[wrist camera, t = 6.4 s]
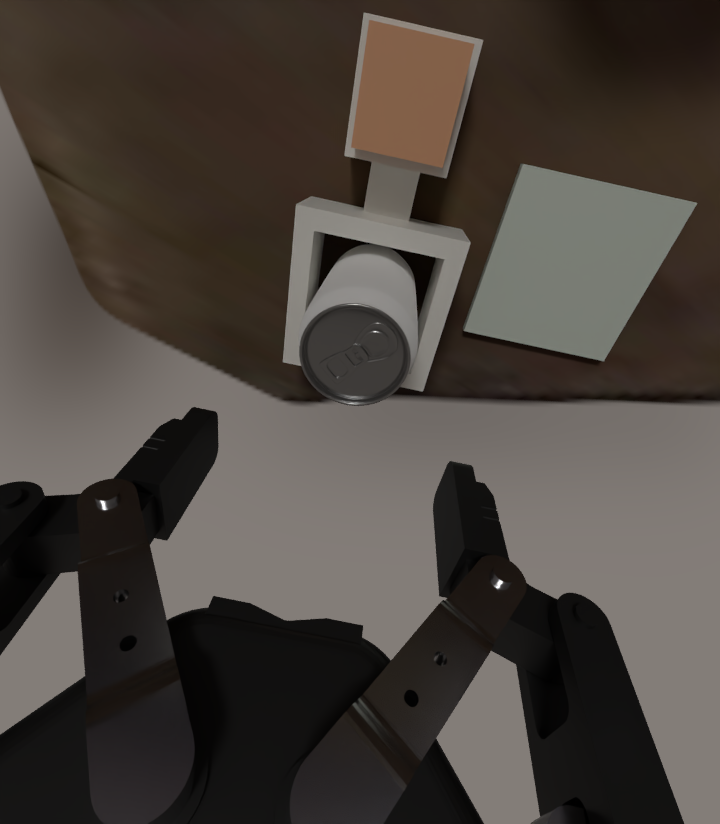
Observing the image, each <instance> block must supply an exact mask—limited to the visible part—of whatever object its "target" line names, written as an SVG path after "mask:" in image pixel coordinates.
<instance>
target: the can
mask: <svg viewBox="0 0 720 824" xmlns="http://www.w3.org/2000/svg"><path fill="white" fill-rule="evenodd" d="M298 341H299V357H300V363H301V367H302V369H303V372H304V374H305V376H306V377H307V379H308V381H309V382H310V383H311V384H312V386H313V387H314V388H315V389H316V390H317V391H319V392H320V393H321V394H322V395H324V396H325V397H327V398H329V399H331V400H333V401H335V402H338V403H342V404H346V405H354V406H362V405H369V404H374V403H377V402H380V401H382V400H384V399H386V398H388V397H389V396H391V395H392V394H393V393H394V392H396V391H397V390H398V388H399V387H400V386H401V385H402V383H403V382H404V380H405V378H406V376H407V375H408V373H409V372H410V370H411V369H412V367H413V364H414V362H415V359H416V355H417V350H418V320H417V302H416V288H415V280H414V275H413V273H412V270H411V268H410V267H409V265H408V264H407V262H406V261H405V260H404V259H403V258H402V257H401V256H400V255H399V254H398V253H397V252H395V251H394V250H392V249H390V248H388V247H386V246H381V245H377V244H365V245H360V246H357V247H355V248H352V249H350V250H349V251H347V252H346V253H345V254H343V255H342V256H341V257H340V258H339V259H338V261H337V262H336V263H335V265H334V266H333V268H332V269H331V271H330V272H329V274H328V275H327V277H326V279H325V280H324V282H323V283H322V285H321V287H320V288H319V290H318V292H317V293H316V295H315V296H314V298H313V300H312V301H311V303H310V305H309V307H308V308H307V310H306V312H305V314H304V316H303V319H302V321H301V325H300V329H299V337H298Z"/></svg>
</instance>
